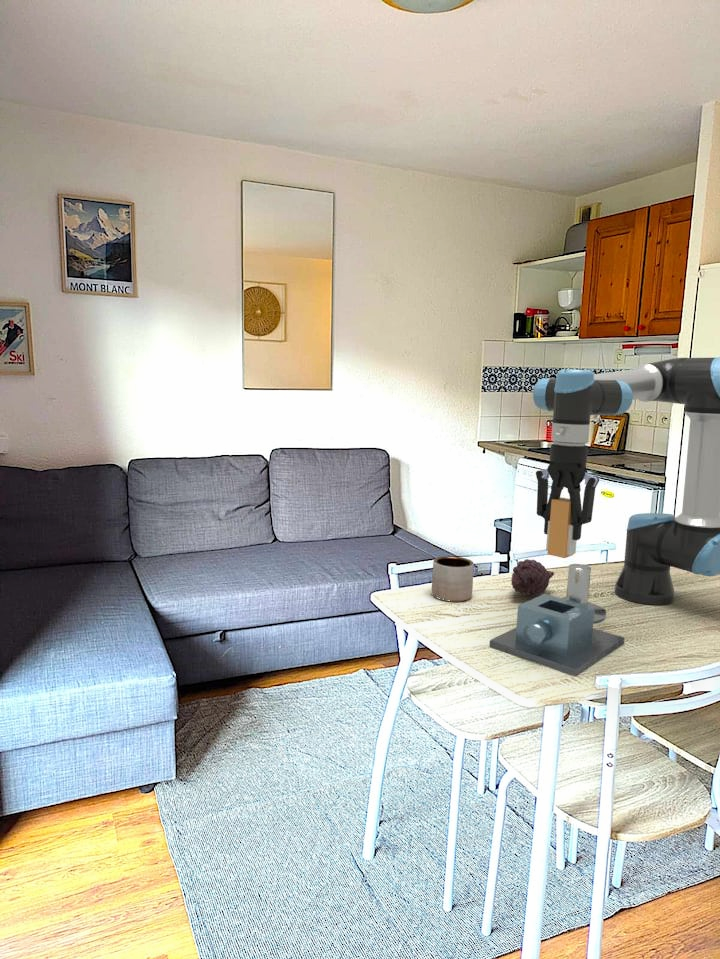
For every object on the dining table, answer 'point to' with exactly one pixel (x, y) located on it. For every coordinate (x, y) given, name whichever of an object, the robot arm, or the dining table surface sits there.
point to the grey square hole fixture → (561, 628)
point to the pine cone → (530, 577)
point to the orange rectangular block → (559, 527)
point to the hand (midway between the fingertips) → (560, 551)
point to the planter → (452, 578)
